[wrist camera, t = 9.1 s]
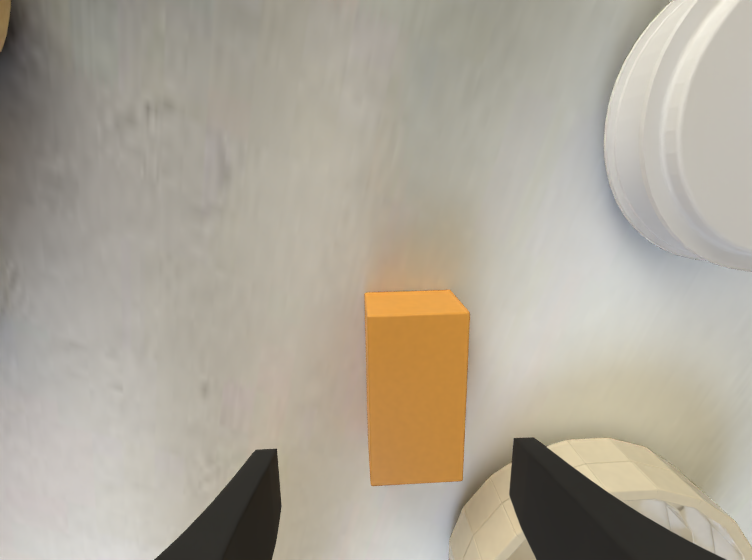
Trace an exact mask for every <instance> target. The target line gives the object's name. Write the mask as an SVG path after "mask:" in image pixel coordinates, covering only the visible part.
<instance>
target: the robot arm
mask: <svg viewBox="0 0 752 560" xmlns="http://www.w3.org/2000/svg"><path fill="white" fill-rule="evenodd" d="M509 496H510V499H511V502H512V504H513V507H514V510H515V513H516V516H517V518H518V521H519V524H520V526H521V529H522V531H523V533H524V535H525V537H526V539H527V541H528V543H529V546H530V548H531V550H532V552H533V554H534V556H535V558H536V560H726V559H724V558H722V557H720V556H718V555H716V554H714V553H712V552H710V551H708V550H706V549H704V548H702V547H700V546H698V545H696V544H694V543H692V542H690V541H688V540H686V539H685V538H683V537H681V536H679V535H677V534H675V533H673V532H672V531H670V530H668V529H666V528H665V527H663V526H661V525H659V524H658V523H656V522H654V521H653V520H651V519H649V518H647V517H646V516H644V515H642V514H641V513H639V512H638V511H636V510H634V509H633V508H631V507H630V506H628V505H627V504H625V503H624V502H622V501H621V500H619V499H618V498H616V497H615V496H613V495H612V494H610V493H608V492H607V491H606V490H604V489H603V488H601V487H600V486H598V485H597V484H596V483H594V482H593V481H591V480H590V479H589V478H587V477H586V476H585V475H583V474H582V473H580V472H579V471H578V470H576V469H575V468H574V467H572V466H571V465H570V464H568V463H567V462H566V461H564V460H563V459H562V458H561V457H559V456H558V455H557V454H555V453H554V452H553V451H551V450H550V449H549V448H547V447H546V446H545V445H543V444H542V443H541V442H539V441H538V440H536V439H535V438H514V443H513V454H512V466H511V477H510V489H509ZM280 513H281V495H280V482H279V470H278V458H277V449H263V450H255V451H254V452H253V453H252V455H251V456H250V457H249V458H248V460H247V461H246V462H245V464H244V465H243V466H242V467H241V469H240V470H239V471H238V472H237V474H236V475H235V476H234V477H233V478H232V480H231V481H230V482H229V483H228V484H227V486H226V487H225V488H224V489H223V490H222V491H221V493H220V494H219V495H218V496H217V497H216V498H215V500H214V501H213V502H212V503H211V504H210V505H209V506H208V507H207V508H206V510H205V511H204V512H203V513H202V514H201V515H200V516H199V517H198V518H197V519H196V520H195V521H194V522H193V523H192V524H191V525H190V526H189V527H188V528H187V529H186V530H185V531H184V532H183V533H182V534H181V535H180V536H179V537H178V538H177V539H176V540H175V541H174V542H173V543H172V544H171V545H170V546H169V547H168V548H167V549H166V550H164V551H163V552H162V553H161V554H160V555H159V556H158V557H157V558H156V559H154V560H272V556H273V552H274V548H275V544H276V539H277V533H278V527H279V520H280Z"/></svg>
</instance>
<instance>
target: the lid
mask: <svg viewBox="0 0 752 560" xmlns="http://www.w3.org/2000/svg"><path fill="white" fill-rule="evenodd" d="M604 156H605V167H606V171H607V176H608V180H609V184H610V187H611V190H612V192H613V195H614V198H615V200H616V202H617V204H618V206H619V207H620V209H621V211H622V213H623V214H624V216H625V217H626V219H627V220H628V221H629V222H630V224H631V225H632V226H633V227H634V228H635V230H637V231H638V232H639V233H640V234H641V235H642V236H643V237H644V238H646V239H647V240H648V241H650V242H651V243H653V244H654V245H656V246H658V247H659V248H661V249H663V250H665V251H668V252H670V253H673V254H675V255H678V256H683V257H687V258H691V259H695V260H707V261H709V262H712V263H714V264H716V265H720V266H723V267H727V268H731V269H737V270H744V271H750V272H752V0H673V1H672V2H671V3H669V4H668V5H667V6H666V7H665V8H664V9H663V10H662V11H661V12H660V13H659V14H658V15H657V16H656V17H655V18H654V19H653V21H652V22H651V23H650V24H649V25H648V27H647V28H646V29H645V31H644V32H643V33H642V34H641V36H640V37H639V38H638V40H637V41H636V43H635V44H634V46H633V48H632V50H631V51H630V53H629V55H628V56H627V58H626V60H625V61H624V64H623V66H622V68H621V70H620V73H619V75H618V77H617V80H616V82H615V85H614V88H613V91H612V94H611V98H610V101H609V104H608V110H607V116H606V121H605V131H604Z"/></svg>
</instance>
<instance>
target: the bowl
mask: <svg viewBox="0 0 752 560" xmlns="http://www.w3.org/2000/svg"><path fill="white" fill-rule="evenodd" d="M546 447H547V448H549V449H550V450H551V451H553V452H554V453H555V454H557V455H558V456H559V457H561V458H562V459H563V460H564V461H566V462H567V463H568V464H570V465H571V466H572V467H574V468H575V469H576V470H578V471H579V472H580V473H582V474H583V475H585V476H586V477H587V478H589V479H590V480H591V481H593V482H594V483H596V484H597V485H598V486H600V487H601V488H603V489H604V490H606V491H607V492H608V493H610V494H612V495H613V496H615V497H616V498H618V499H619V500H621V501H622V502H624V503H625V504H627V505H628V506H630V507H631V508H633V509H634V510H636V511H638V512H639V513H641V514H642V515H644V516H646V517H647V518H649V519H651V520H653V521H654V522H656V523H658V524H659V525H661V526H663V527H665V528H666V529H668V530H670V531H672V532H673V533H675V534H677V535H679V536H681V537H683V538H685V539H686V540H688V541H690V542H692V543H694V544H696V545H698V546H700V547H702V548H704V549H706V550H708V551H710V552H712V553H714V554H716V555H718V556H720V557H722V558H724V559H726V560H752V547H751V545H750V544H749V542H748V540H747V539H746V537H745V536H744V534H743V532H742V531H741V529H740V528H739V526H738V525H737V523H736V521H735V520H734V519H732V518H731V517H730V516H729V515H728V514H727V513H726V512H725V511H724V510H722V509H721V508H720V507H719V506H718V505H717V504H716V503H715V502H714V501H712V500H711V499H710V498H709V497H708V496H707V495H706V494H705V493H704V492H702V491H701V490H700V489H699V488H698V487H697V486H696V485H695V484H694V483H692V482H691V481H690V480H689V479H688V478H687V477H686V476H685V475H684V474H682V473H681V472H680V471H679V470H678V469H677V468H676V467H675V466H673V465H672V464H670V463H669V462H667V461H666V460H664V459H663V458H661V457H660V456H658V455H657V454H655V453H654V452H653V451H651V450H650V449H648V448H646V447H644V446H640V445H636V444H632V443H628V442H624V441H620V440H616V439H612V438H588V439H568V440H564V441H561V442H558V443H555V444H552V445H548V446H546ZM511 466H512V462H511V463H509V464H508V465H506V466H505V467H503V468H502V469H500V470H499V471H497V472H495V473H494V474H492V475H491V476H490V477H489V478H488V479H487V480H486V481H485V482H484V484H483V485H482V486H481V487H480V488H479V489H478V490H477V492H476V493H475V494H474V495H473V496H472V497H471V499H470V500H469V501H468V502H467V503H466V504H465V505H464V507H463V509H462V511H461V513H460V516H459V518H458V520H457V523H456V525H455V528H454V530H453V532H452V535H451V537H450V541H449V560H536V558H535V556H534V554H533V552H532V550H531V548H530V546H529V543H528V541H527V539H526V537H525V535H524V533H523V531H522V529H521V526H520V524H519V521H518V518H517V516H516V513H515V510H514V507H513V504H512V502H511V499H510V496H509V489H510V477H511Z"/></svg>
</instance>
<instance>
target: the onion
mask: <svg viewBox="0 0 752 560" xmlns="http://www.w3.org/2000/svg"><path fill="white" fill-rule="evenodd" d="M10 9H11V1H10V0H0V52H1V51H2V48H3V45H4V42H5V38H6V36H7V29H8V24H9V18H10Z"/></svg>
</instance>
